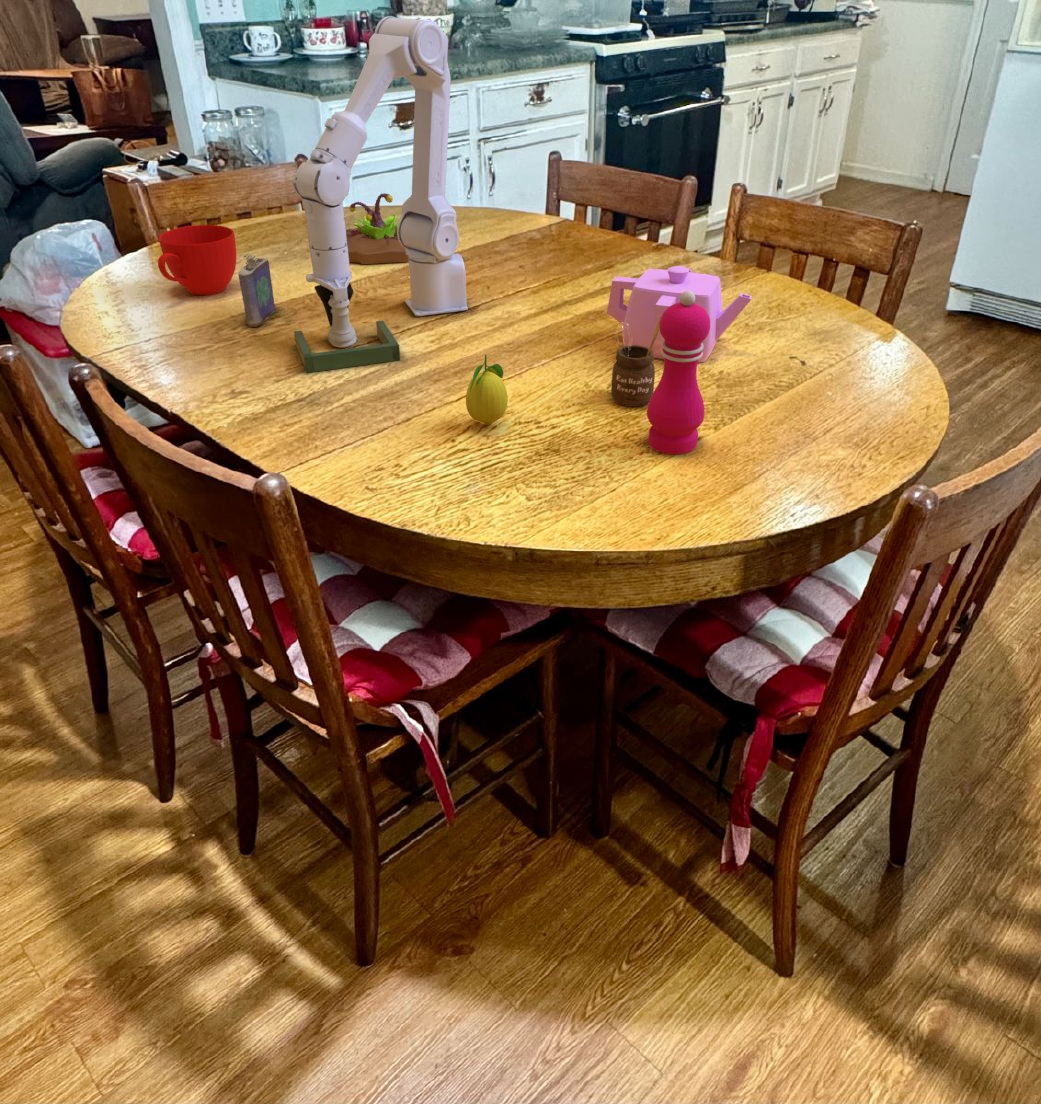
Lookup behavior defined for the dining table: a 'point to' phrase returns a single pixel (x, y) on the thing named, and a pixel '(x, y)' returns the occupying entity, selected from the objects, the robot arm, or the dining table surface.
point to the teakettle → (669, 304)
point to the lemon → (487, 394)
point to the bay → (349, 353)
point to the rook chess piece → (341, 324)
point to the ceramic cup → (199, 257)
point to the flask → (256, 290)
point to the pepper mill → (679, 378)
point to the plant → (375, 237)
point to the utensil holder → (633, 373)
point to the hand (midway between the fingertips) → (338, 330)
